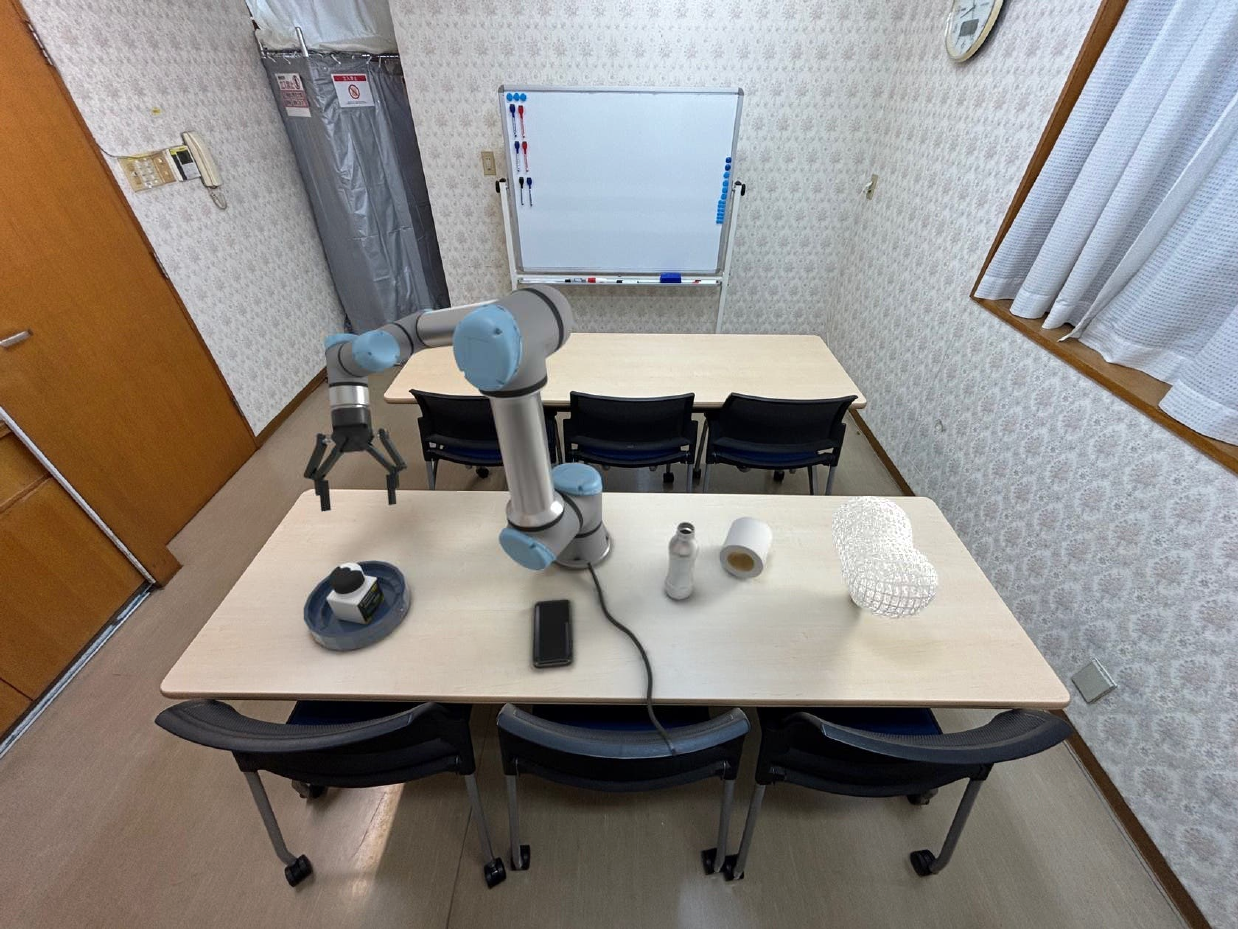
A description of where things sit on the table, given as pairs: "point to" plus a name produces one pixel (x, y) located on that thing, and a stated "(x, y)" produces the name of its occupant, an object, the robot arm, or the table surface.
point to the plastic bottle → (681, 562)
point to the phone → (552, 634)
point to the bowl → (351, 633)
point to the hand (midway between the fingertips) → (359, 507)
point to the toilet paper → (746, 547)
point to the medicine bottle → (354, 594)
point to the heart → (882, 559)
